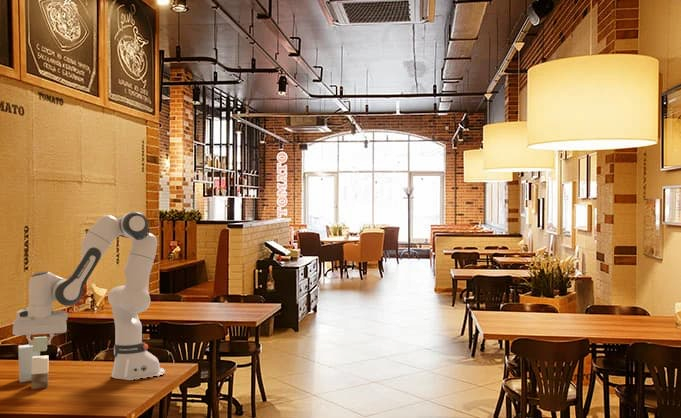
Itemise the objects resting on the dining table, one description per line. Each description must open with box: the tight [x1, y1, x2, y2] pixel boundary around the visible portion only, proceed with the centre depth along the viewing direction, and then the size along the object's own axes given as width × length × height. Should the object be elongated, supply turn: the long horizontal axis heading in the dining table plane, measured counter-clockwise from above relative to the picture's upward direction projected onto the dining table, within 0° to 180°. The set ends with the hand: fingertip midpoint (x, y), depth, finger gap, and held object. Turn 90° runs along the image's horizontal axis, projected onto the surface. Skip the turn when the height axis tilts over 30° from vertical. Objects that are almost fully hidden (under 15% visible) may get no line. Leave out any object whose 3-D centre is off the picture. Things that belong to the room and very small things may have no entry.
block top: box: [32, 354, 50, 374], centre depth 265 cm, size 6×6×6 cm
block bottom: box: [30, 372, 49, 390], centre depth 265 cm, size 6×6×6 cm
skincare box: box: [17, 344, 41, 383], centre depth 275 cm, size 8×6×15 cm
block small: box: [32, 336, 48, 352], centre depth 265 cm, size 5×5×5 cm
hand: (39, 344), depth 265 cm, fingers closed on block small, 5 cm apart
